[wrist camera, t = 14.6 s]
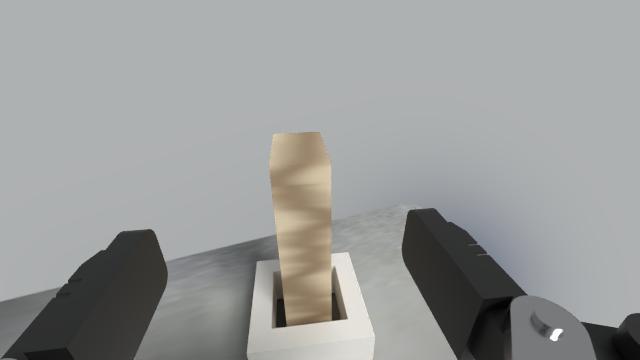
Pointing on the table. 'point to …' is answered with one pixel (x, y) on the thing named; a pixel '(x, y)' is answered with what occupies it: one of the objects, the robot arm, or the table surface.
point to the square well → (311, 339)
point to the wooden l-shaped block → (303, 225)
